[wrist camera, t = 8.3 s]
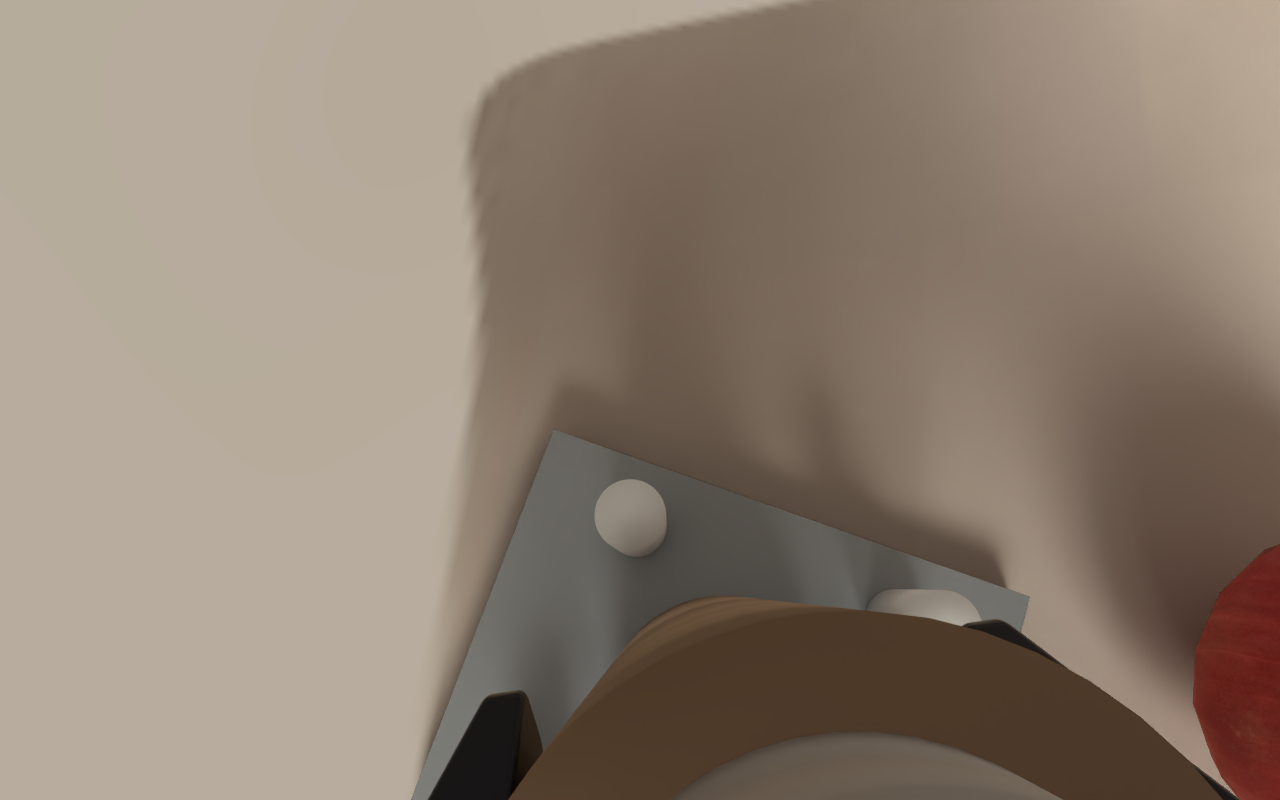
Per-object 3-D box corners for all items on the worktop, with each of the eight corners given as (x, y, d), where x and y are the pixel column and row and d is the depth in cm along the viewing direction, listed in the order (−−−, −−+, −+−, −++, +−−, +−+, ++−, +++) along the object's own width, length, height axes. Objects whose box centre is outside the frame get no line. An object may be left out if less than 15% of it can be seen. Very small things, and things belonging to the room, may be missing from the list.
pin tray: (901, 1005, 16) (977, 1141, 12) (418, 807, 17) (342, 873, 13) (1009, 596, 17) (1108, 599, 14) (559, 437, 18) (530, 398, 15)
